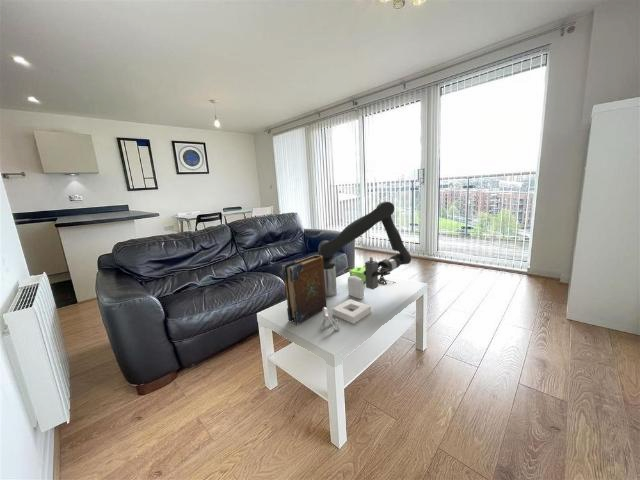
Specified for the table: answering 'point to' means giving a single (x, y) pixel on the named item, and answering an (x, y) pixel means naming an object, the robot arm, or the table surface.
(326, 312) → the portable electronic device stand
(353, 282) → the photo printer
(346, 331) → the table surface
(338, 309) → the socket
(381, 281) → the eiffel tower figurine
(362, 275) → the teapot
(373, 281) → the plug
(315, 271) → the decorative book
